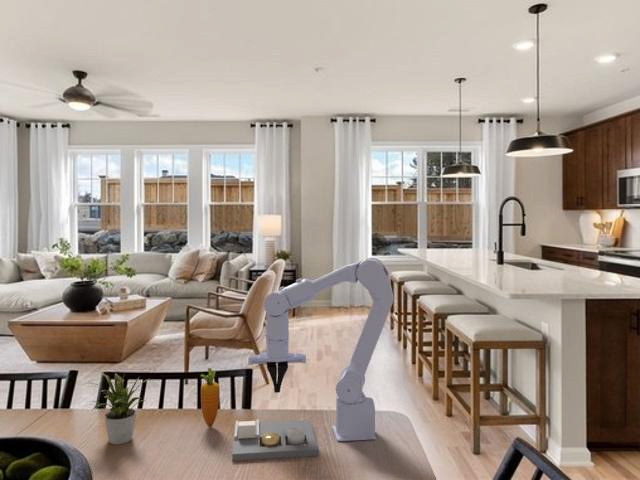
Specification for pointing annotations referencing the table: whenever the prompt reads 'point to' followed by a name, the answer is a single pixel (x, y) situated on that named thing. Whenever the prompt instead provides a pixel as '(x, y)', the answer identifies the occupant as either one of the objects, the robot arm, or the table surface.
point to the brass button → (270, 439)
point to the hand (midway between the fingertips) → (277, 391)
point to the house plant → (119, 411)
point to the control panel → (252, 449)
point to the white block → (246, 429)
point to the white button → (296, 436)
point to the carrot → (209, 398)
